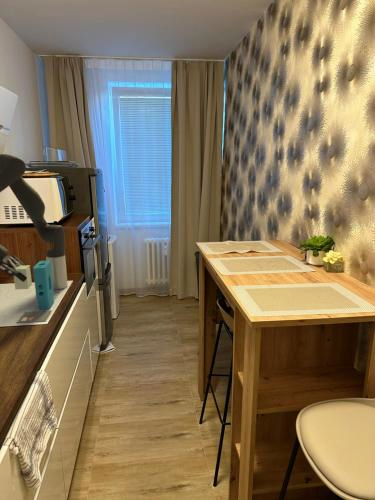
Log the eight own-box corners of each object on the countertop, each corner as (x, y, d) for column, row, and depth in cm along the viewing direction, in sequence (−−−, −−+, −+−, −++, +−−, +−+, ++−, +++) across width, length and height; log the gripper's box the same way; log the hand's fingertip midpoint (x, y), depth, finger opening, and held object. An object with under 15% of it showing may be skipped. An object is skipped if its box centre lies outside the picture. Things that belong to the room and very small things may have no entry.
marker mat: (24, 312, 155) (24, 311, 155) (52, 310, 156) (51, 310, 156) (16, 323, 144) (16, 322, 144) (45, 321, 146) (45, 321, 146)
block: (48, 310, 156) (44, 267, 151) (37, 311, 155) (32, 268, 151) (55, 300, 168) (51, 260, 163) (44, 301, 167) (39, 260, 162)
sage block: (19, 285, 146) (16, 265, 144) (31, 284, 147) (29, 265, 145) (15, 289, 141) (12, 269, 139) (28, 288, 142) (25, 268, 140)
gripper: (-9, 248, 131) (28, 277, 136) (5, 239, 145) (38, 266, 150) (-22, 262, 132) (15, 290, 137) (-7, 252, 146) (26, 278, 150)
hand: (27, 277), depth 143 cm, fingers closed on sage block, 5 cm apart
